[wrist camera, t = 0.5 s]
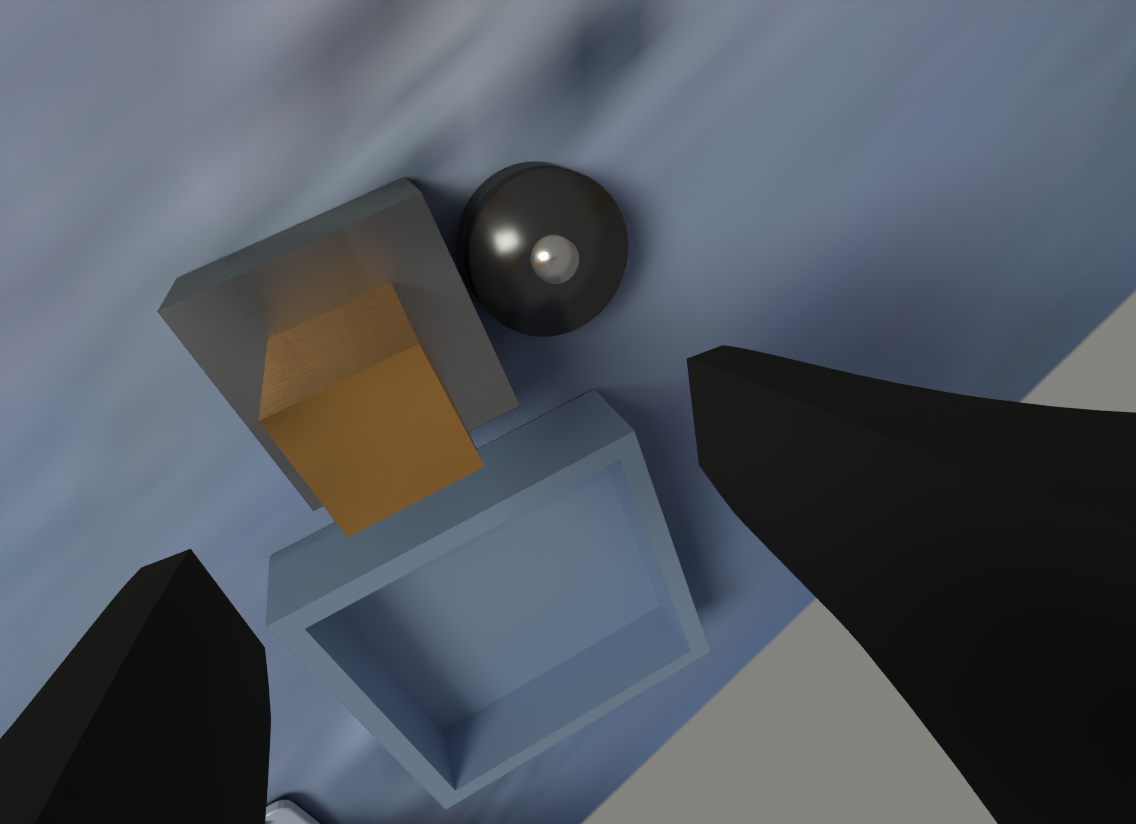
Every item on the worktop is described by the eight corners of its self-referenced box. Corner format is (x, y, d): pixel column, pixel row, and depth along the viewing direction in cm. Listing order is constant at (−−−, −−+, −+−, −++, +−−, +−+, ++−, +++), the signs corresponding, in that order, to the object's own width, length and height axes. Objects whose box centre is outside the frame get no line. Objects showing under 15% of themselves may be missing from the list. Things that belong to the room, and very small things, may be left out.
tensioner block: (311, 460, 19) (313, 510, 16) (176, 278, 15) (156, 311, 13) (628, 302, 20) (668, 329, 18) (568, 104, 17) (608, 108, 15)
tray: (431, 738, 26) (446, 809, 23) (269, 556, 19) (265, 626, 17) (672, 599, 27) (710, 651, 25) (594, 389, 21) (634, 430, 18)
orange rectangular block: (332, 401, 18) (347, 538, 12) (271, 308, 16) (258, 421, 11) (430, 354, 18) (485, 466, 13) (380, 258, 16) (418, 343, 11)
